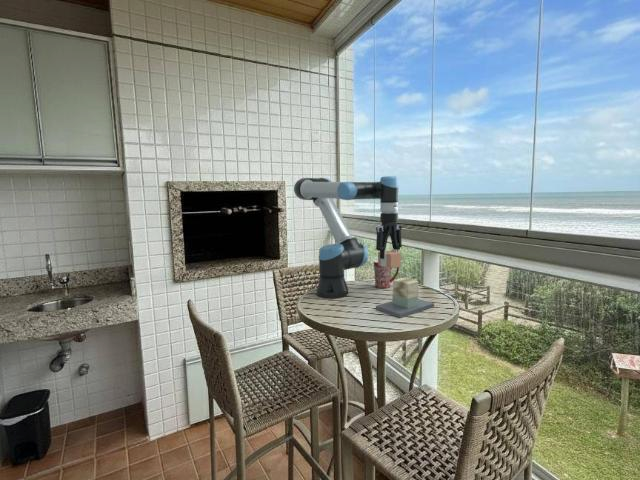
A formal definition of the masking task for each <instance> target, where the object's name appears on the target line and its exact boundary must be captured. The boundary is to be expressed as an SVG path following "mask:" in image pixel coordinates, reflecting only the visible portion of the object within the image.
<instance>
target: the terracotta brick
mask: <svg viewBox="0 0 640 480" xmlns="http://www.w3.org/2000/svg"><path fill="white" fill-rule="evenodd" d="M385 251H386V252H387V254H386V266H383V267H387V268H392V269H394V268H397V267H399V268H400V267H402V252H399V251H398V252H392V250H391V251H390V250H385ZM377 260H378V266H381V259H380V251H378V252H377Z"/></svg>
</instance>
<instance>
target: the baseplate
mask: <svg viewBox="0 0 640 480" xmlns="http://www.w3.org/2000/svg"><path fill="white" fill-rule="evenodd" d="M391 295H392V300H391V301H388V302H384V303H382V304H378V305H375V310H377V311H380V312H382V313H385V314H388V315H391V316H393V317H396V318H399V319H401V318H405V317H407V316H412V315H413V314H417V313H420V312H423V311H426V310H428V309H433V308H434V307H435V302H434V303H433V302H432V301H426V300H424V299H420V298H419V295H418V296H416V297H413V298H410V299H407V298H404V297H400V296H397V295H393V293H392V294H391Z"/></svg>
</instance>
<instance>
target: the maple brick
mask: <svg viewBox="0 0 640 480" xmlns="http://www.w3.org/2000/svg"><path fill="white" fill-rule="evenodd" d="M392 294H393V295H397V296H400V297H404V298H407V299H410V298H413V297H416V296H418V297H419V280H414V279H410V278H405V277H400V278H397V279H396V278H395V279H394V280H393V281H392Z"/></svg>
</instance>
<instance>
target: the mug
mask: <svg viewBox="0 0 640 480" xmlns="http://www.w3.org/2000/svg"><path fill="white" fill-rule="evenodd" d="M372 263H373V268H374V269H373V273H374V280H375V281H374V283H375V285H374V286H375V288H377V289H383V290H384V289H389V288H390V287H391V284H392V283H393V280H395V279H396V277H397V276H398V274H399V271H400V267H396V271H395V273H394V275H393V277H392V278H391V276H392V275H391V272H392V271H391V270H392V269H393V268H387V267H383V266H378V259H373V262H372Z"/></svg>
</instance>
